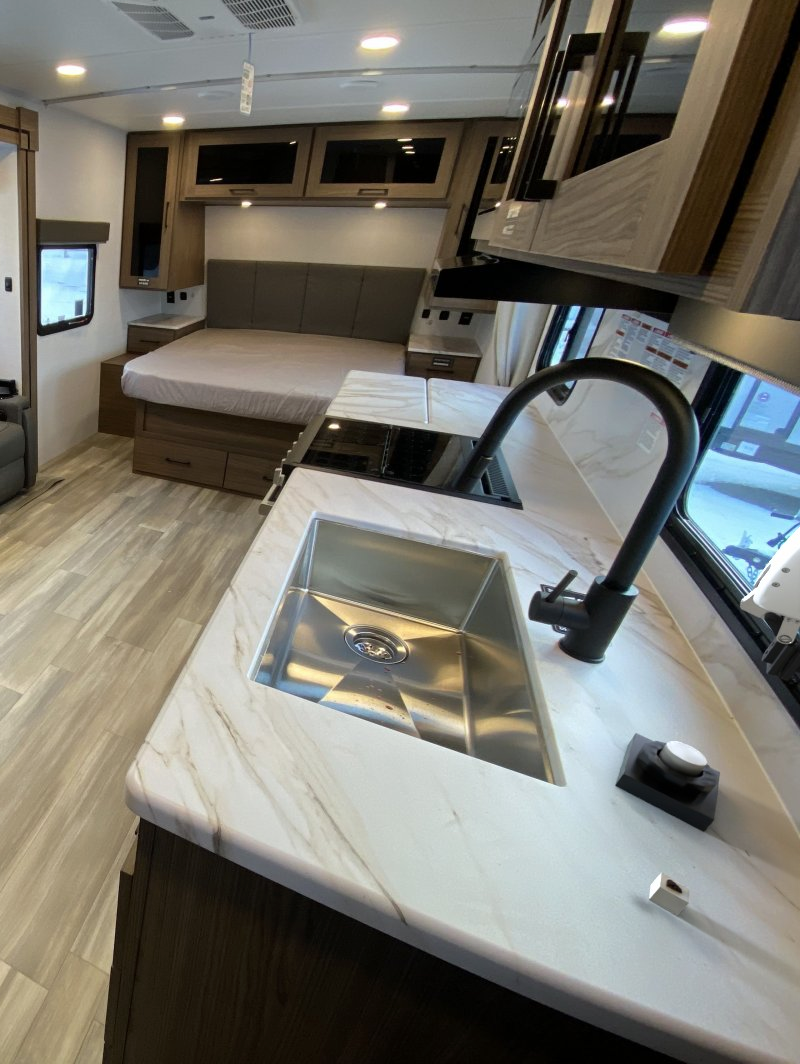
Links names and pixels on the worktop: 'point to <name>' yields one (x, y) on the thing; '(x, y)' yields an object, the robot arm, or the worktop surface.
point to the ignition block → (668, 784)
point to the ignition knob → (683, 758)
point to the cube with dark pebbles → (669, 894)
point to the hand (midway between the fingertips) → (777, 671)
